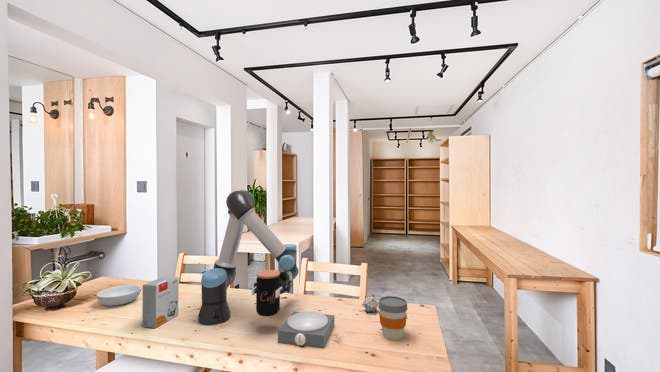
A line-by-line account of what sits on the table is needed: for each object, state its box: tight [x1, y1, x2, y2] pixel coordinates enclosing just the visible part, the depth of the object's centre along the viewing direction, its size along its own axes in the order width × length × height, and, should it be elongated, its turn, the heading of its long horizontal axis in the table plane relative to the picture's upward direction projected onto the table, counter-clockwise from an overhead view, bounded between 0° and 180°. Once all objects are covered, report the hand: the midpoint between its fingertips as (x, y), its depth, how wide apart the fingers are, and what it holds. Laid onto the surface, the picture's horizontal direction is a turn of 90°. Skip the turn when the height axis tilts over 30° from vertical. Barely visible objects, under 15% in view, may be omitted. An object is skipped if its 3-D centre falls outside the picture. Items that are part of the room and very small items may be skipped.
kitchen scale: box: [277, 311, 335, 349], centre depth 137 cm, size 20×21×6 cm
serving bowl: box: [96, 284, 142, 306], centre depth 175 cm, size 21×21×7 cm
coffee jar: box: [255, 269, 281, 317], centre depth 142 cm, size 11×11×18 cm
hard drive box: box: [141, 275, 180, 329], centre depth 151 cm, size 16×8×20 cm, turn 166°
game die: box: [361, 294, 379, 314], centre depth 161 cm, size 9×8×10 cm
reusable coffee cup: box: [377, 295, 408, 341], centre depth 136 cm, size 13×12×15 cm
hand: (264, 293), depth 138 cm, fingers closed on coffee jar, 11 cm apart
